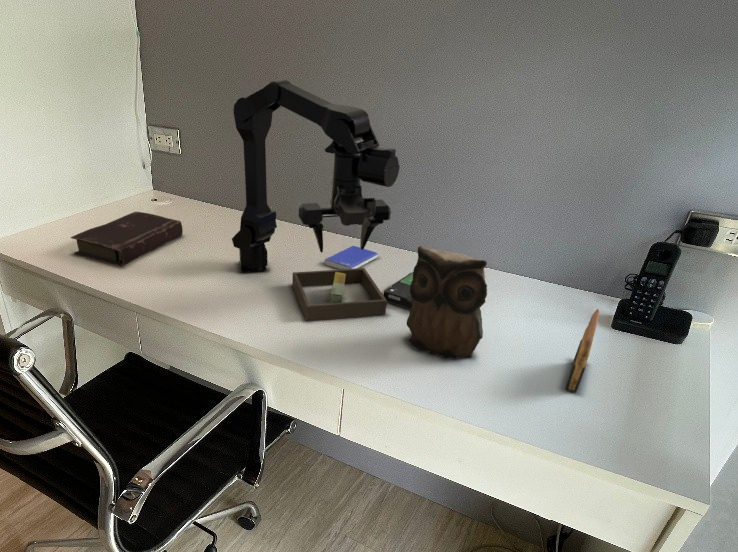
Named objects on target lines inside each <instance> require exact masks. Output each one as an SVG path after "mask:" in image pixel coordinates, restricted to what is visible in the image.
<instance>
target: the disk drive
mask: <svg viewBox="0 0 738 552" xmlns="http://www.w3.org/2000/svg"><path fill="white" fill-rule="evenodd" d="M412 280H413V271H412V272H410V273H408V274H407V275H405V276H403V277H402V278H400V279H399V280H397V281H396V282H394V283H393V284H392V285H390V286H388V287H387V288H385V289H384V290H383V296H384V297H385V299H386V300H387V303H390V304H393V305H395V306H396V305H397V306H400V307H402V308H405V309H408V310H410V308H411V306H412V298H411V294H410V286H411V282H412Z"/></svg>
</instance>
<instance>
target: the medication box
mask: <svg viewBox="0 0 738 552" xmlns="http://www.w3.org/2000/svg"><path fill="white" fill-rule="evenodd" d="M345 276H346V274H344V273H339V272H335V275H334V280H333V285H331V291H330V297H329V302H328V303H341V302H342V301H343V297H344V291H345V284H344V283H345Z"/></svg>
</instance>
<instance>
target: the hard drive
mask: <svg viewBox="0 0 738 552" xmlns="http://www.w3.org/2000/svg"><path fill="white" fill-rule="evenodd" d="M378 256H379V254H378V252H376V251H374V250H371V249H366V248H364V249H363V250H361V248H360V247H359V246H356V245H351V246H349V247H347V248H346V249H342V250H341V251H339V252H337V253H335V254H333V255H330V256H328V257H326V258H325V259H324V265H326V266H329V267H332V268H335V269H336V270H339V269H355V268H362V267H363V266H364V265H366V264H368V263H370V262H372V261H373V260H376V259H378Z"/></svg>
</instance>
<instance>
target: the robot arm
mask: <svg viewBox="0 0 738 552" xmlns="http://www.w3.org/2000/svg"><path fill="white" fill-rule="evenodd" d="M281 107H282V108H285V109H286V110H288V111H290V112H292V113H294V114H296V115H298V116H299V117H302V118H304V119H306V120H308V121H310V122H312V123H314V124H316V125H317V126H318V127H320V128H321V129H322V131H323V133H324V134H325V136H327V137H328V138H329V139H330V140H331V143H330V144H328V146H327V147H325V148H324V152H325V153H328V154H333V164H332V166H333V167H332V179H331V183H330V184H331V198H330V202H329V203H330V207H321V206H320V205H319V203H318V202H311V203H310V202H307V203H301V204H300V205H299V207H298V218H299V220H300V221H301V223H302V224H303V225H305V226H307V227H308V228H309V229H312V230H313V233H314V236H315V239H316V243H317V247H318V250H319V253H323V252H324V236H323V235H324V234H323V231H324V224H323V223H322V222H323V220H324V219H323V218H339V219H340V224H341V225H343V226H345V227H347V226H348V227H349V226H350V225H351V226H352V225H353V226H355V225H358V226H361V232H360V240H359V241H360V242H359V243H360V245H359V246H360V248H361V250H363V249H365V247H366V245H367V243H368V242H369V239H370V237H371V235H372V233H373V232H374V230H375V228H376V227H378V226H379V225H382V224H384V222H385V221H389V220H391V213H392V210H391V207H390V206H389V205H388V203H386V202H385V201H384V200H383V199H376V198H375V197H363V194H362V193H363V192H362V187H363V186H362V185H361V183H362V182H363V183H367V184H372V185H377V186H381V187H386V188H391V187H392V186H394V184H395V183H396V181H397V179H398V177H399V173H400V168H401V167H400V165H401V164H400V161H399V158H398V156H397V155H396V153H397V149H396V148H391V147H388V148H387V147H386V148H384V147H380V143H379V140H378V139H377V136H376V134H375V132H374V130H373V128H372V126H371V122H370V118H369V114H368V112H367V111H366V110H365V109H362V108H359V107H355V106H351V105H345V104H344V105H343V104H335V103H332V102H329V101H327V100H325V99H323V98H321V97H319V96H317V95H315V94H313V93H311V92H309V91H307V90H305V89H303V88H301V87H299V86H296V85H295V84H292V83H291V82H290V81H289V80H287V79H280V80H274V81H270V82H269V83H268V84H266V85H265V86H263V88H261V89H259V90H257V91H255V92H253V93H251V94H250V95H248V96H244V97H240V98H238V99H236V102H235V103H233V111H232V112H233V118H234V122H235V123H234V124H235V129H236V131H237V132H238V134H239V136H240V137H241V139H242V142H243V144H242V145H243V163H244V183H245V185H244V186H245V206H244V208H243V209H244V210H243V212H242V214H241V216H240V226H239V230H238V231H237V233H236V234H234V235H233V236H232V238H231V242H232V245H233V247H234V248H236V249H238V252H239V253H238V255H239V257H238V258H239V261H238V266H239V270H240V273H242V274H244V273H257V272H258V273H260V272H267V271H268V269H267V267H268V249H267V247H266V245H265V244H266V243H269V242H270V241H271V238H272V236H273V235H274V234H275V232H276V229H277V228H278V225H277V212H276V210H271V207H270V206H269V204H268V192H267V191H268V189H267V187H268V185H267V155H266V151H267V150H266V139H267V137H268V134H269V132H270V129H271V127H272V121H273V113H274V112H277V110H279V109H280V108H281ZM357 141H359V142H357ZM361 181H362V182H361Z"/></svg>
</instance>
